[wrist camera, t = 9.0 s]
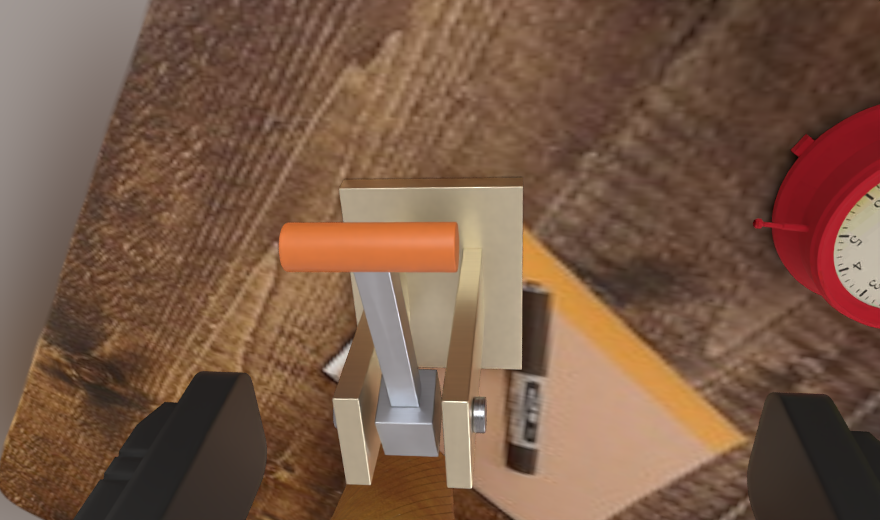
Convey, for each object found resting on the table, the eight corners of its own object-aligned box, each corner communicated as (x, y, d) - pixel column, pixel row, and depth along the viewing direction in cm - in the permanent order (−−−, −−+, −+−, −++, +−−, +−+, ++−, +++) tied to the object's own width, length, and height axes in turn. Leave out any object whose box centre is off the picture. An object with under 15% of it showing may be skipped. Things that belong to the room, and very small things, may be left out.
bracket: (343, 179, 35) (262, 323, 24) (522, 177, 34) (526, 326, 23) (366, 353, 40) (309, 538, 29) (521, 356, 39) (523, 548, 28)
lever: (289, 200, 20) (270, 262, 19) (457, 199, 20) (452, 263, 18) (359, 401, 29) (350, 454, 28) (476, 404, 29) (473, 458, 27)
